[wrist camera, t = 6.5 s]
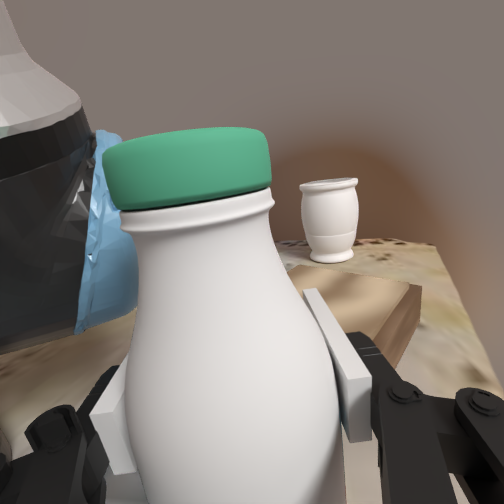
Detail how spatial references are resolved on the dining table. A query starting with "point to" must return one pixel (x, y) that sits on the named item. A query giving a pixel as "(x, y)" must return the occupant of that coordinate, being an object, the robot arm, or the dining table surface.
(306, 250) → the dining table surface
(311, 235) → the jar
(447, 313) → the dining table surface
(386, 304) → the walnut stand
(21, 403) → the dining table surface
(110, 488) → the dining table surface
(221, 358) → the milk bottle
